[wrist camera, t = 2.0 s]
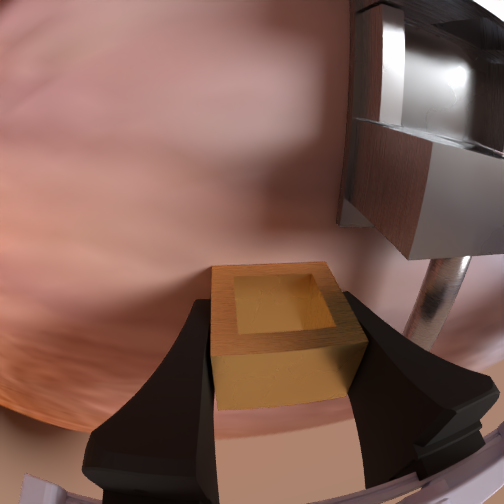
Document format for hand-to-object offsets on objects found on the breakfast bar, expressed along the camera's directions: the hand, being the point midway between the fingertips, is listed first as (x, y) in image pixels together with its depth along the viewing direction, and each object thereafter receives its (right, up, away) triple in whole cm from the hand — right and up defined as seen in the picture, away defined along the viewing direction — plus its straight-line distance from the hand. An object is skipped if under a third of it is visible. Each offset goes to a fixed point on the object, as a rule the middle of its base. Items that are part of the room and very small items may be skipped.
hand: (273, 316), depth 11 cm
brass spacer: (0, +1, +1) cm, 1 cm away
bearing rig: (+7, +9, -3) cm, 11 cm away
